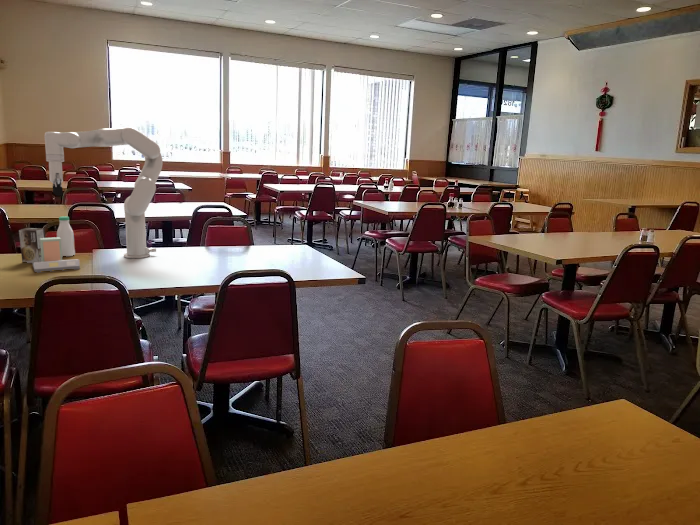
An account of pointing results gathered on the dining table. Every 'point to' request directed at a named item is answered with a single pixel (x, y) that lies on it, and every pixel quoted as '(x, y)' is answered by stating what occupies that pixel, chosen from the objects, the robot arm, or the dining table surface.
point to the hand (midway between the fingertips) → (57, 194)
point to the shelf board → (56, 265)
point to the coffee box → (31, 244)
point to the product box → (51, 249)
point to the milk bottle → (66, 237)
